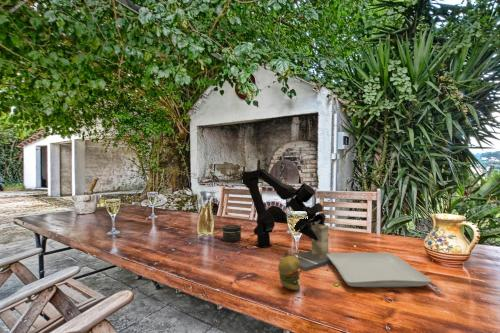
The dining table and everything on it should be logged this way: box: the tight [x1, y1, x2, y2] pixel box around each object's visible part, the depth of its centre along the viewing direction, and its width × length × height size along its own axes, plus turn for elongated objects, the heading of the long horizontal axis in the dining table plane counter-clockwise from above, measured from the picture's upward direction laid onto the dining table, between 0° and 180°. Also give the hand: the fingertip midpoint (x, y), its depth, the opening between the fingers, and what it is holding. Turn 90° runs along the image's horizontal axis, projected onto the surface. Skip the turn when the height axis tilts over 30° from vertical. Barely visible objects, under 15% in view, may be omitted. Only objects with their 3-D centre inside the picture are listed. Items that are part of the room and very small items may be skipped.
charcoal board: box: [282, 250, 333, 272], centre depth 115 cm, size 13×20×2 cm, turn 124°
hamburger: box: [278, 253, 301, 291], centre depth 90 cm, size 8×7×12 cm
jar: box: [222, 224, 242, 244], centre depth 149 cm, size 10×10×8 cm
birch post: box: [311, 224, 329, 259], centre depth 116 cm, size 5×5×13 cm
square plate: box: [326, 252, 433, 288], centre depth 100 cm, size 27×27×4 cm
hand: (322, 237), depth 116 cm, fingers open, 9 cm apart
